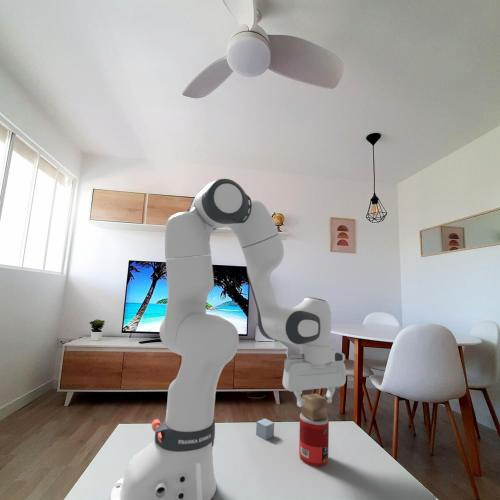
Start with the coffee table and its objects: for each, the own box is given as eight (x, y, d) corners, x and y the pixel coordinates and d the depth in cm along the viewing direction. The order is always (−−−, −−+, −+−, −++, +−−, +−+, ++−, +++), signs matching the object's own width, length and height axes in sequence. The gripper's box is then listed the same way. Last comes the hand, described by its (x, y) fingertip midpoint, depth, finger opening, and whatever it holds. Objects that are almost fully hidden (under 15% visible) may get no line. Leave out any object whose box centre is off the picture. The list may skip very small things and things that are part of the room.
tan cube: (312, 420, 77) (312, 401, 78) (301, 413, 82) (302, 395, 82) (327, 418, 79) (327, 399, 80) (316, 411, 84) (316, 393, 84)
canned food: (329, 469, 74) (329, 424, 76) (298, 464, 76) (299, 419, 77) (327, 453, 81) (327, 412, 83) (299, 449, 83) (300, 409, 85)
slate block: (265, 440, 87) (265, 426, 88) (256, 435, 90) (256, 421, 91) (273, 436, 90) (274, 422, 91) (264, 431, 93) (264, 418, 93)
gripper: (291, 357, 76) (289, 413, 74) (349, 354, 84) (349, 404, 82) (279, 352, 81) (277, 404, 79) (334, 350, 90) (334, 397, 88)
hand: (314, 404), depth 81 cm, fingers open, 8 cm apart
